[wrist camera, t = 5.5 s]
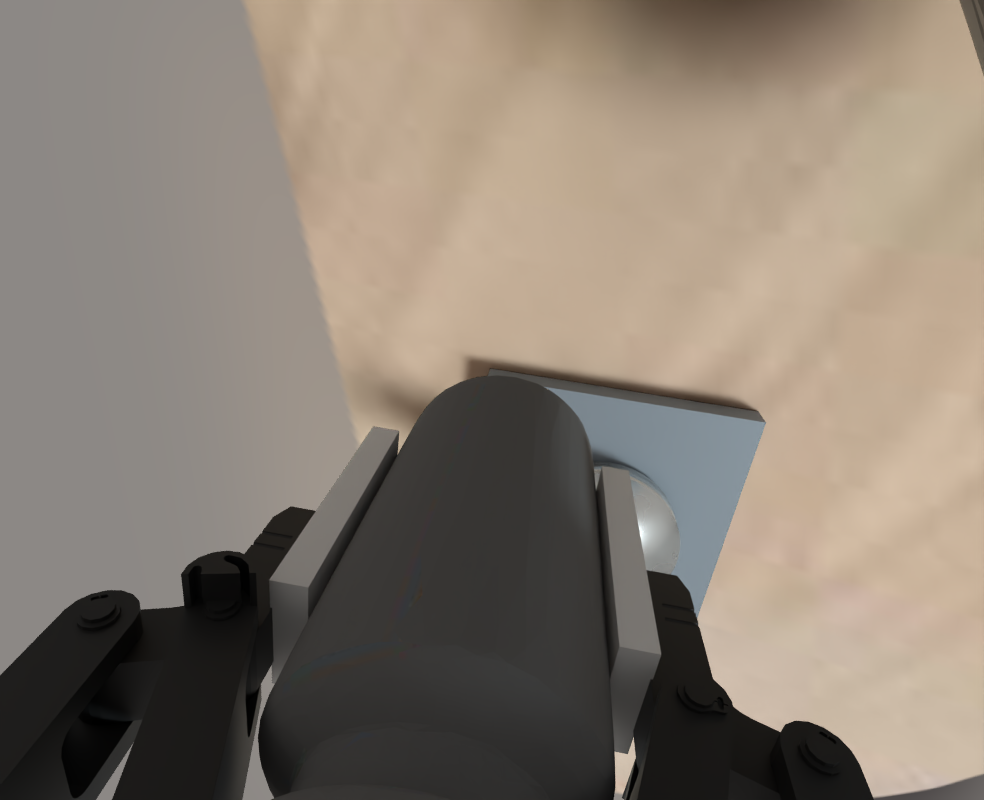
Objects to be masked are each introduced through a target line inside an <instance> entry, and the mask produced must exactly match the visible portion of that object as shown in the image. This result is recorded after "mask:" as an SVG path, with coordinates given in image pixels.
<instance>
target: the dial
mask: <svg viewBox="0 0 984 800" xmlns="http://www.w3.org/2000/svg"><path fill="white" fill-rule="evenodd" d="M593 465H594V473H595V485H596V489H597V485H598V481H599V476H600V472H601V468H602V466H604V467H610V468H616V469H622V470H627V471H629V475H630V480H631V486H632V491H633V497H634V503H635V508H636V514H637V520H638V525H639V531H640V537H641V542H642V548H643V554H644V559H645V565H646V570H649V571H655V572H660V573H666V574H671V573H672V571H673V570H674V568H675V565H676V563H677V560H678V557H679V552H680V534H679V530H678V526H677V522H676V519H675V515H674V511H673V508H672V506H671V504H670V502H669V500H668V498H667V497H666V495H665V494H664V492H663V491H662V490H661V489H660V488H659V487H658V486H657V485H656V484H655V483H654V482H653V481H652V480H651V479H649V478H648V477H646V476H645V475H643V474H642V473H640V472H638V471H636V470H634V469H632V468H629V467H626V466H623V465H620V464H616V463H611V462H603V461H593Z"/></svg>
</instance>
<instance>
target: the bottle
mask: <svg viewBox="0 0 984 800" xmlns="http://www.w3.org/2000/svg"><path fill="white" fill-rule="evenodd" d="M258 742H259V754H260V760H261V765H262V769H263V772H264V775H265V777H266V780H267V783H268V786H269V789H270V791H271V793H272V794H273V796H274V799H272V800H613V799H614V792H615V755H614V732H613V718H612V703H611V689H610V674H609V660H608V645H607V631H606V616H605V602H604V587H603V573H602V560H601V548H600V535H599V523H598V510H597V498H596V485H595V473H594V465H593V457H592V449H591V445H590V441H589V438H588V436H587V433H586V431H585V428H584V426H583V424H582V422H581V421H580V419H579V417H578V416H577V415H576V413H575V412H574V411H573V410H572V408H571V407H570V406H569V405H568V404H567V403H566V402H565V401H563V400H562V399H561V398H560V397H559V396H557V395H556V394H555V393H553V392H552V391H550V390H549V389H547V388H545V387H543V386H541V385H539V384H537V383H534V382H531V381H527V380H524V379H521V378H517V377H510V376H500V375H495V376H483V377H476V378H472V379H469V380H466V381H463V382H460V383H458V384H456V385H454V386H452V387H450V388H448V389H446V390H445V391H443V392H442V393H441V394H439V395H438V396H437V397H436V398H435V399H434V400H433V401H432V402H431V403H430V404H429V405H428V406H427V407H426V408H425V410H424V411H423V413H422V414H421V415H420V417H419V418H418V420H417V422H416V423H415V425H414V427H413V429H412V430H411V432H410V434H409V436H408V437H407V439H406V441H405V443H404V444H403V446H402V448H401V450H400V452H399V453H398V455H397V457H396V459H395V461H394V463H393V464H392V466H391V468H390V470H389V472H388V474H387V475H386V477H385V479H384V481H383V483H382V485H381V486H380V488H379V490H378V492H377V494H376V496H375V498H374V499H373V501H372V503H371V505H370V507H369V509H368V510H367V512H366V514H365V516H364V518H363V520H362V521H361V523H360V525H359V527H358V529H357V531H356V532H355V534H354V536H353V538H352V540H351V542H350V543H349V545H348V547H347V549H346V551H345V553H344V555H343V556H342V558H341V560H340V562H339V564H338V566H337V567H336V569H335V571H334V573H333V575H332V577H331V578H330V580H329V582H328V584H327V586H326V588H325V590H324V592H323V593H322V595H321V597H320V599H319V601H318V603H317V605H316V606H315V608H314V610H313V612H312V614H311V616H310V618H309V620H308V621H307V623H306V625H305V627H304V629H303V631H302V633H301V634H300V636H299V638H298V640H297V642H296V644H295V646H294V648H293V649H292V651H291V653H290V655H289V657H288V659H287V661H286V663H285V665H284V667H283V669H282V671H281V673H280V675H279V677H278V679H277V681H276V683H275V685H274V687H273V689H272V691H271V692H270V694H269V697H268V700H267V702H266V705H265V708H264V711H263V714H262V716H261V719H260V727H259V734H258Z"/></svg>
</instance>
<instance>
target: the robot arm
mask: <svg viewBox="0 0 984 800" xmlns="http://www.w3.org/2000/svg"><path fill="white" fill-rule="evenodd" d="M959 1H960V3H961V6H962V9H963V12H964V15H965V18H966V21H967V24H968V27H969V30H970V33H971V37H972V40H973V43H974V46H975V49H976V52H977V56H978V59H979V62H980V65H981V68H982V71H983V75H984V0H959ZM398 440H399V431H397V430H392V429H386V428H380V427H374V426H373V428H372V429H371V431H370V432H369V434H368V435H367V437H366V438H365V440H364V441H363V442H362V444H361V445H360V447H359V448H358V450H357V451H356V453H355V454H354V456H353V457H352V459H351V460H350V462H349V463H348V465H347V466H346V468H345V469H344V470H343V472H342V474H341V475H340V476H339V478H338V479H337V481H336V482H335V484H334V485H333V487H332V488H331V490H330V491H329V493H328V494H327V496H326V497H325V499H324V500H323V501H322V503H321V504H320V506H319V507H318V509H317V510H316V511H313V510H308V509H302V508H297V507H289V508H288V509H286V510H284V511H283V512H281V513H279V514H278V515H276V516H274V517H273V518H272V520H271V521H270V522H269V523H268V525H267V526H266V528H264V530H263V532H262V534H260V535H259V536H258V538H257V539H256V540H255V541H254V544H253V545H251V547H250V548H249V549H248V550H247V552H246V553H245V554H242V553H240V552H233V551H221V552H214V553H210V554H207V555H205V556H202V557H199V558H197V559H196V560H195V561H193V562H192V563H190V564H189V565H188V566H187V567H186V568H185V570H184V571H183V572H182V574H181V577H182V586H183V594H184V595H183V596H184V605H185V606H180V607H173V608H161V609H144V610H141V609H140V603H139V600H138V599H137V598H136V597H135V596H134V595H133V594H131V593H127V592H125V591H121V590H120V591H116V590H114V591H113V590H107V591H102V592H98V593H94V594H90V595H88V596H86V597H84V598H81V599H79V600H77V601H76V602H74V603H73V604H72V605H70V606H69V607H68V608H66V609H65V610H64V611H63V612H62V613H61V614H60V615H59V616H58V617H57V618H56V619H55V620H54V621H53V622H52V623H51V624H50V625H49V626H48V627H47V628H46V629H45V630H44V631H43V632H42V633H41V634H40V635H39V637H37V638H36V640H35V641H34V642H33V643H32V644H31V645H30V646H29V647H28V648H27V649H26V650H25V651H24V652H23V653H22V654H21V655H20V656H19V657H18V658H17V659H16V660H15V661H14V662H13V663H12V664H11V665H10V666H9V667H8V668H7V669H6V670H5V671H4V672H3V673H2V674H1V675H0V800H96V799H97V797H98V796H99V794H100V793H101V791H102V789H103V788H104V786H105V785H106V783H107V782H108V780H109V779H110V777H111V776H112V774H113V773H114V771H115V770H116V768H117V767H118V765H119V764H120V762H121V760H122V759H123V757H124V756H125V754H126V753H127V751H128V750H129V748H130V747H131V745H132V744H133V746H132V748H131V751H130V754H129V757H128V759H127V762H126V765H125V767H124V770H123V772H122V775H121V778H120V780H119V783H118V786H117V788H116V791H115V793H114V796H113V799H112V800H242V798H243V793H244V788H245V783H246V777H247V772H248V767H249V761H250V756H251V750H252V745H253V741H254V735H255V730H256V725H257V720H258V714H259V709H260V704H261V683H262V681H263V679H264V677H265V676H266V674H267V672H268V670H269V668H270V667H271V665H272V683H276V681H277V679H278V677H279V675H280V673H281V671H282V669H283V667H284V665H285V663H286V661H287V659H288V657H289V655H290V653H291V651H292V649H293V648H294V646H295V644H296V642H297V640H298V638H299V636H300V634H301V633H302V631H303V629H304V627H305V625H306V623H307V621H308V620H309V618H310V616H311V614H312V612H313V610H314V608H315V606H316V605H317V603H318V601H319V599H320V597H321V595H322V593H323V592H324V590H325V588H326V586H327V584H328V582H329V580H330V578H331V577H332V575H333V573H334V571H335V569H336V567H337V566H338V564H339V562H340V560H341V558H342V556H343V555H344V553H345V551H346V549H347V547H348V545H349V543H350V542H351V540H352V538H353V536H354V534H355V532H356V531H357V529H358V527H359V525H360V523H361V521H362V520H363V518H364V516H365V514H366V512H367V510H368V509H369V507H370V505H371V503H372V501H373V499H374V498H375V496H376V494H377V492H378V490H379V488H380V486H381V485H382V483H383V481H384V479H385V477H386V475H387V474H388V472H389V470H390V468H391V466H392V464H393V463H394V461H395V459H396V457H397V453H398ZM596 498H597V510H598V523H599V535H600V548H601V560H602V573H603V587H604V602H605V616H606V631H607V645H608V660H609V674H610V689H611V703H612V718H613V732H614V751H615V752H620V753H625V754H628V751H629V748H630V746H631V743H632V740H633V737H634V743H635V752H636V759H635V762H634V765H633V768H632V771H631V773H630V776H629V779H628V782H627V785H626V788H625V791H624V793H623V797H622V798H623V799H624V800H874V799H873V796H872V794H871V791H870V789H869V787H868V784H867V782H866V779H865V777H864V774H863V772H862V769H861V767H860V765H859V763H858V761H857V759H856V758H855V756H854V754H853V753H852V751H851V750H850V749H849V748H848V747H847V746H846V745H845V744H844V743H843V742H842V741H841V740H840V739H839V738H838V737H837V736H835V735H834V734H832V733H831V732H829V731H828V730H826V729H825V728H823V727H821V726H818V725H815V724H813V723H810V722H804V721H793V722H791V723H788V724H786V725H785V726H784V727H783V729H782V731H781V732H779V731H777V730H774V729H772V728H770V727H768V726H766V725H764V724H762V723H759V722H757V721H755V720H753V719H751V718H749V717H748V716H746V715H744V714H742V713H741V712H739V711H738V710H737V709H735V708H734V707H733V705H732V701H731V700H730V698H729V696H728V695H727V693H726V691H725V690H724V689H723V688H722V687H721V686H720V685H719V684H718V683H717V682H715V681H714V680H713V677H712V674H711V670H710V666H709V662H708V658H707V655H706V651H705V647H704V643H703V640H702V636H701V632H700V628H699V627H698V621H697V617H696V613H694V610H695V609H694V605H693V602H692V598H691V594H690V592H689V590H688V589H687V588H686V586H685V585H684V584H683V582H682V581H681V580H680V579H679V577H678V576H676V575H671V574H666V573H660V572H655V571H649V570H646V565H645V559H644V554H643V548H642V542H641V537H640V531H639V525H638V520H637V514H636V508H635V503H634V497H633V491H632V486H631V480H630V475H629V471H627V470H622V469H616V468H610V467H604V466H602V468H601V472H600V476H599V481H598V485H597V489H596ZM133 742H134V743H133Z"/></svg>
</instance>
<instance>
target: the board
mask: <svg viewBox="0 0 984 800" xmlns="http://www.w3.org/2000/svg"><path fill="white" fill-rule="evenodd" d="M495 375H500V376H510V377H517V378H521V379H524V380H527V381H531V382H534V383H537V384H539V385H541V386H543V387H545V388H547V389H549V390H550V391H552V392H553V393H555V394H556V395H557V396H559V397H560V398H561V399H562V400H563V401H565V402H566V403H567V404H568V405H569V406H570V407H571V408H572V410H573V411H574V412H575V413H576V415H577V416H578V417H579V419H580V421H581V422H582V424H583V426H584V428H585V431H586V433H587V436H588V438H589V441H590V445H591V449H592V457H593V461H603V462H611V463H616V464H620V465H623V466H626V467H629V468H632V469H634V470H636V471H638V472H640V473H642V474H643V475H645V476H646V477H648V478H649V479H651V480H652V481H653V482H654V483H655V484H656V485H657V486H658V487H659V488H660V489H661V490H662V491H663V492H664V494H665V495H666V497H667V498H668V500H669V502H670V504H671V506H672V508H673V511H674V515H675V519H676V522H677V526H678V530H679V534H680V552H679V557H678V560H677V563H676V565H675V568H674V570H673V571H672V573H671V575H676V576H678V577H679V579H680V580H681V581H682V582H683V584H684V585H685V586H686V588H687V589H688V590H689V592H690V594H691V598H692V602H693V605H694V609H695V610H694V613H696V617H698V614H699V611H700V608H701V605H702V603H703V600H704V597H705V594H706V591H707V588H708V586H709V583H710V580H711V577H712V574H713V571H714V569H715V566H716V563H717V560H718V557H719V554H720V551H721V549H722V546H723V543H724V540H725V537H726V534H727V532H728V529H729V526H730V523H731V520H732V517H733V515H734V512H735V509H736V506H737V503H738V500H739V497H740V495H741V492H742V489H743V486H744V483H745V480H746V478H747V475H748V472H749V469H750V466H751V463H752V461H753V458H754V455H755V452H756V449H757V446H758V444H759V441H760V438H761V435H762V432H763V429H764V426H765V424H766V422H765V421H764V419H763V418H762V416H761V415H760V413H759V412H758V411H752V410H746V409H739V408H733V407H727V406H721V405H715V404H708V403H702V402H696V401H690V400H683V399H677V398H671V397H665V396H658V395H652V394H646V393H640V392H634V391H627V390H621V389H615V388H609V387H602V386H596V385H590V384H584V383H578V382H571V381H565V380H559V379H553V378H546V377H540V376H534V375H528V374H522V373H515V372H509V371H503V370H497V369H490V371H489V374H488V376H495Z"/></svg>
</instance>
